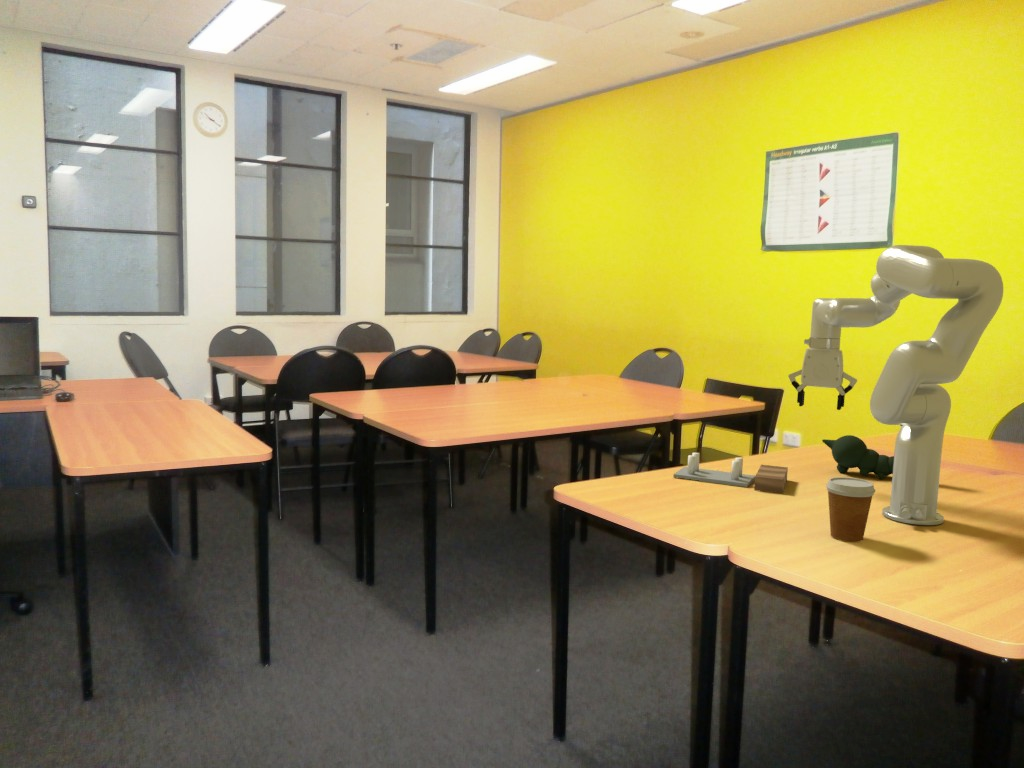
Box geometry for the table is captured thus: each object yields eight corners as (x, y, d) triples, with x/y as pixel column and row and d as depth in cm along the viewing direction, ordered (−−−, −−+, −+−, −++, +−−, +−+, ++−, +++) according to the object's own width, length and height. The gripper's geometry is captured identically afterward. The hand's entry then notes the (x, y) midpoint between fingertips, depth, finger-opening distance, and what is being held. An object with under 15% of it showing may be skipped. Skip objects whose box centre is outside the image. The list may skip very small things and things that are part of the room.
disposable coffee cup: (848, 546, 155) (852, 489, 154) (812, 533, 164) (816, 478, 162) (881, 541, 159) (886, 485, 157) (845, 528, 167) (849, 475, 166)
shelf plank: (782, 494, 197) (783, 479, 197) (754, 491, 200) (755, 476, 199) (786, 481, 212) (787, 467, 211) (760, 478, 214) (761, 464, 214)
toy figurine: (912, 483, 217) (820, 464, 230) (924, 419, 214) (830, 403, 227) (909, 490, 209) (814, 470, 222) (922, 423, 206) (825, 406, 219)
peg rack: (747, 487, 202) (748, 465, 202) (673, 477, 212) (674, 456, 211) (755, 479, 212) (756, 457, 211) (684, 470, 221) (685, 449, 221)
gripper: (788, 343, 206) (783, 406, 208) (858, 347, 197) (852, 412, 199) (793, 342, 212) (789, 402, 214) (861, 345, 203) (856, 409, 206)
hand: (819, 407), depth 207 cm, fingers open, 9 cm apart
